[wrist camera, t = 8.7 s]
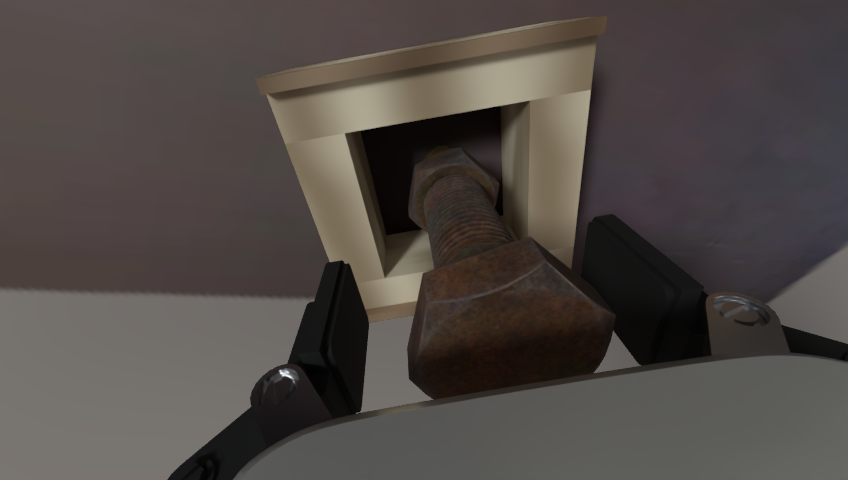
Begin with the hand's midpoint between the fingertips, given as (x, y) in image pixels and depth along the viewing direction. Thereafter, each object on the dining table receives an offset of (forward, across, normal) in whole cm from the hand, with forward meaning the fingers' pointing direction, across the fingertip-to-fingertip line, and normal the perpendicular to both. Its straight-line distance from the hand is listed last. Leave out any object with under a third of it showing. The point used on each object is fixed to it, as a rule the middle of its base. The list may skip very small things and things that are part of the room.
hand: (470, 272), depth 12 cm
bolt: (+11, 0, 0) cm, 11 cm away
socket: (+11, 0, 0) cm, 11 cm away
